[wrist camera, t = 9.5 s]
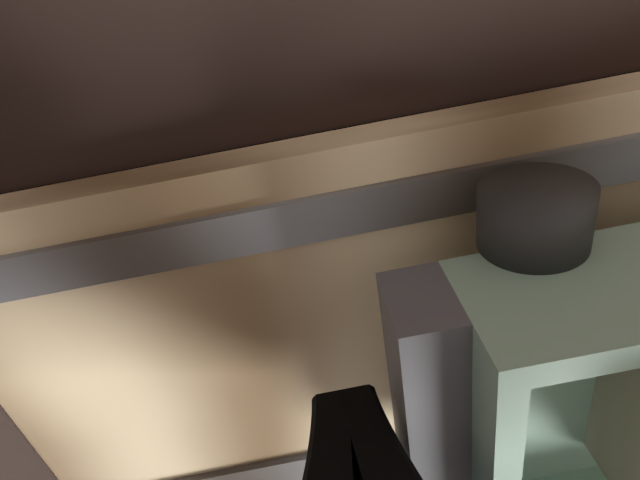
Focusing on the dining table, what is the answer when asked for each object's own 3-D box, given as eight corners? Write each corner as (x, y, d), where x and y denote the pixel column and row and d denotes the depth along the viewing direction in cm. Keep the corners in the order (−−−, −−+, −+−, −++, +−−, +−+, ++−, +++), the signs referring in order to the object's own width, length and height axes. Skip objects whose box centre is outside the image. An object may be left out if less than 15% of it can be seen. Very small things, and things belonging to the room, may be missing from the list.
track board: (107, 500, 16) (66, 649, 13) (-97, 212, 10) (-272, 347, 7) (822, 362, 16) (970, 474, 13) (1022, -3, 10) (1395, 26, 7)
